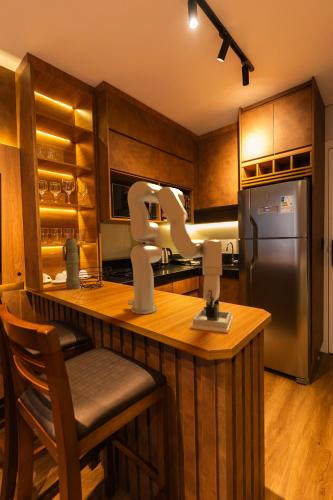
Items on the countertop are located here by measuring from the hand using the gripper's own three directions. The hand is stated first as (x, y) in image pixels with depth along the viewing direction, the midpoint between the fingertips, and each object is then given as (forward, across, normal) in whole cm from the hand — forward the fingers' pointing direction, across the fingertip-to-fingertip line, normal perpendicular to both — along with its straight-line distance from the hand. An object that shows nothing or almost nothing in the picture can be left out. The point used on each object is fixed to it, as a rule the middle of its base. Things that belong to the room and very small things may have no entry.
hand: (212, 313), depth 96 cm
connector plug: (+3, 0, 0) cm, 3 cm away
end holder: (+4, 0, 0) cm, 4 cm away
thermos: (+4, -35, -105) cm, 111 cm away
